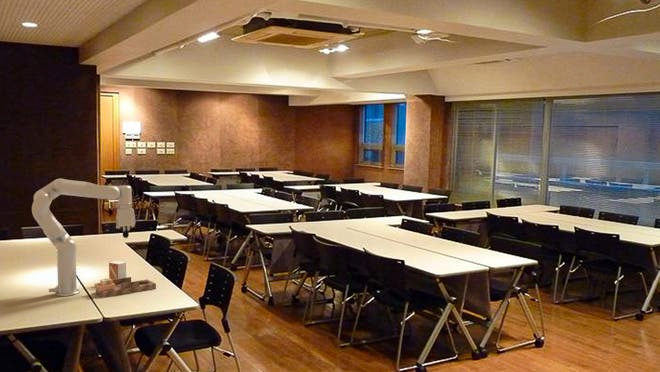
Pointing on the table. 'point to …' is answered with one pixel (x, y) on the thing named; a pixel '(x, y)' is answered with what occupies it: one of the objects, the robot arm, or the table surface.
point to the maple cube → (105, 282)
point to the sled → (104, 287)
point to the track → (127, 287)
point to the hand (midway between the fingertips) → (125, 237)
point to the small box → (117, 270)
